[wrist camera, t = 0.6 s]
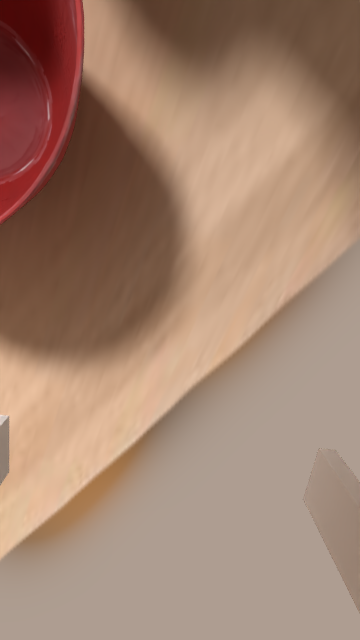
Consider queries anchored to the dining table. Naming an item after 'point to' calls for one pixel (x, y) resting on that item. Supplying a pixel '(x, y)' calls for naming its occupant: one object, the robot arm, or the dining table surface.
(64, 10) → the mixing bowl
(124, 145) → the dining table surface
